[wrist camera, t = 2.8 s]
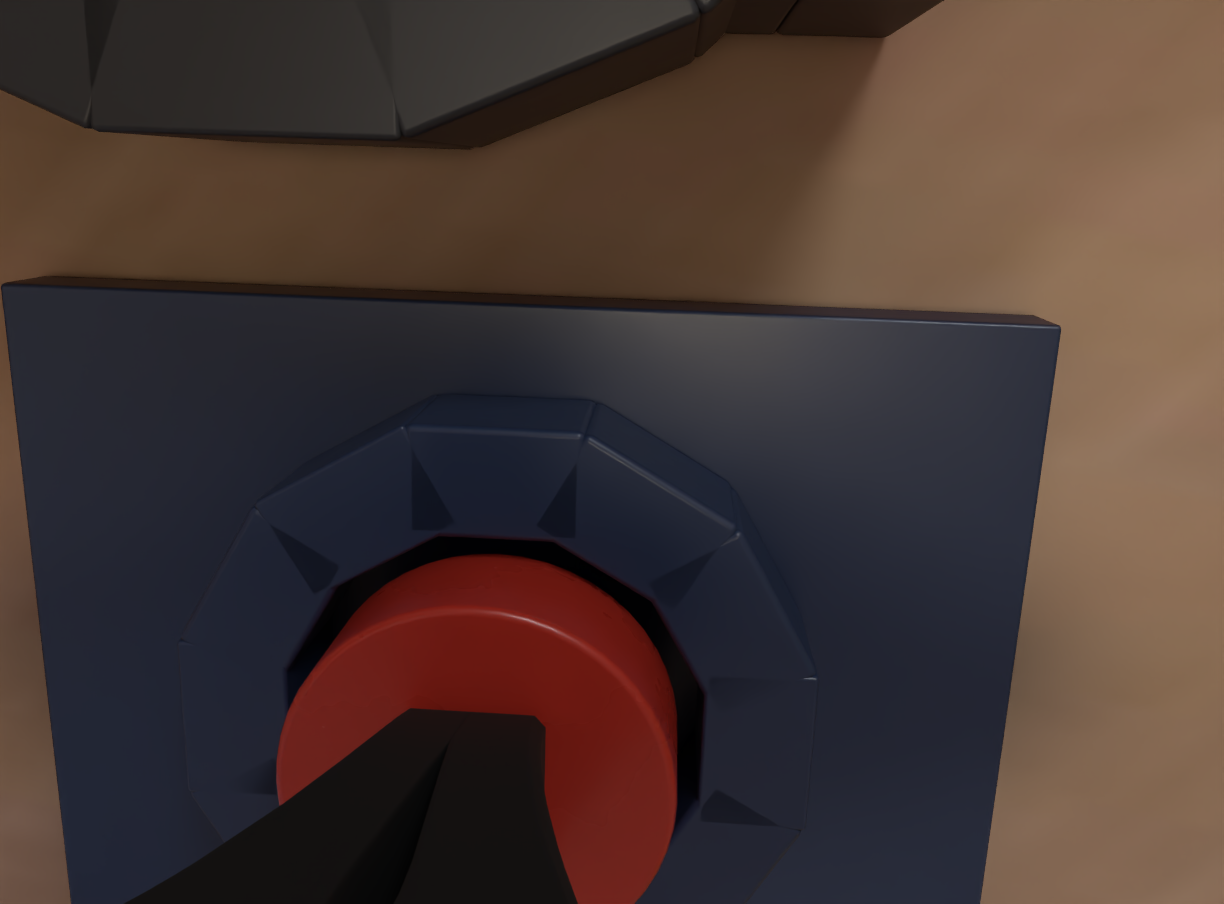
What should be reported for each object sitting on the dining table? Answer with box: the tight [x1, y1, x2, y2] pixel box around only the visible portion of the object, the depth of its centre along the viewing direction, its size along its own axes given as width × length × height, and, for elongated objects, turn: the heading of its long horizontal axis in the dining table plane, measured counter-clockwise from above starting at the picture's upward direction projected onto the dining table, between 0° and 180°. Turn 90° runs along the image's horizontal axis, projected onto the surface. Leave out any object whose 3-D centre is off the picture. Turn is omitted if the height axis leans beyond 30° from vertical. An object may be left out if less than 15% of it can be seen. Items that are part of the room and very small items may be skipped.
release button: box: [276, 554, 677, 904], centre depth 11 cm, size 4×4×2 cm
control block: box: [1, 276, 1061, 904], centre depth 13 cm, size 12×9×2 cm
